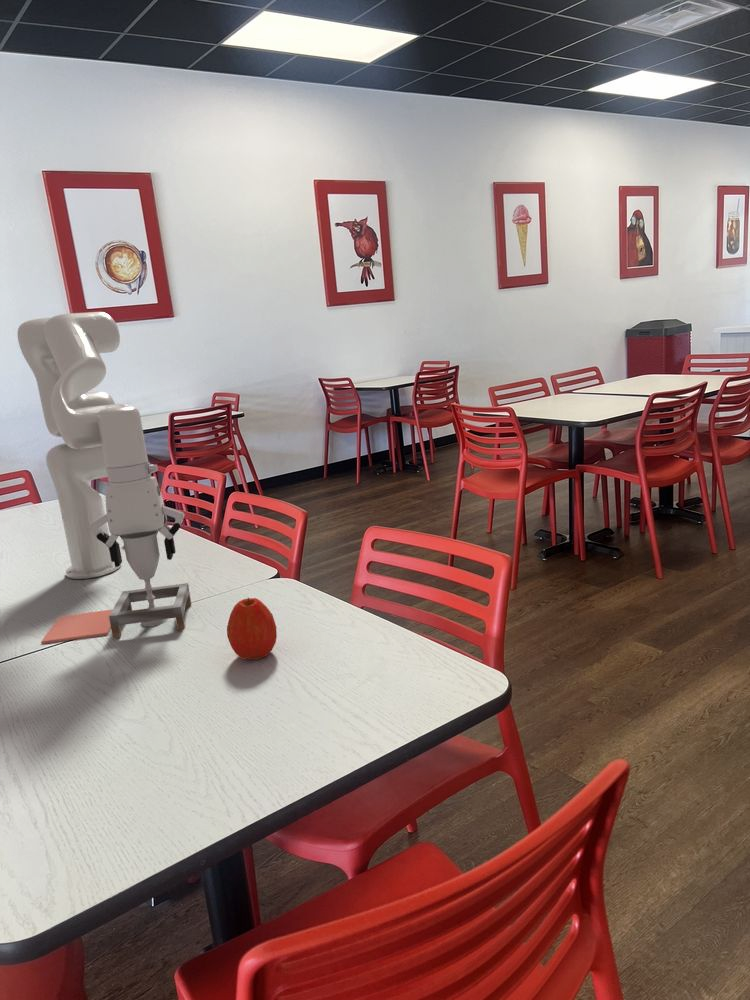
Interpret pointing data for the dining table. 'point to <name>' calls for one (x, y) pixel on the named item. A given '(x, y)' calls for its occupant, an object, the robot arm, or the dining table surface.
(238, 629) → the apple
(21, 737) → the dining table surface
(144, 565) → the chalice
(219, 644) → the dining table surface
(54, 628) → the coaster
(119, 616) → the ring stand
